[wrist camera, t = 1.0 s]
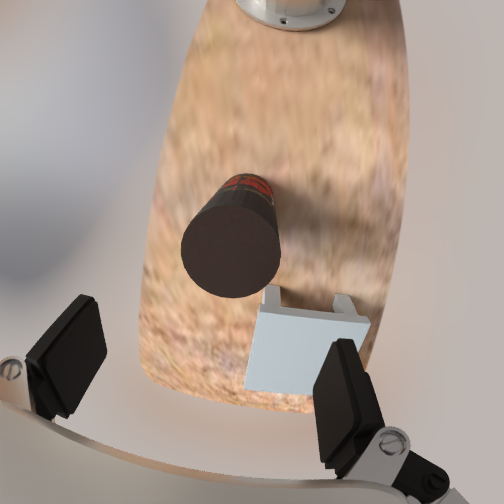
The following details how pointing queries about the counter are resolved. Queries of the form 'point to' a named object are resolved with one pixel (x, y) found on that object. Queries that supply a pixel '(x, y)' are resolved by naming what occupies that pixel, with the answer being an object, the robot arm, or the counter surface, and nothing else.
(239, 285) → the deodorant
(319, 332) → the pale blue square tabletop
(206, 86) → the counter surface
